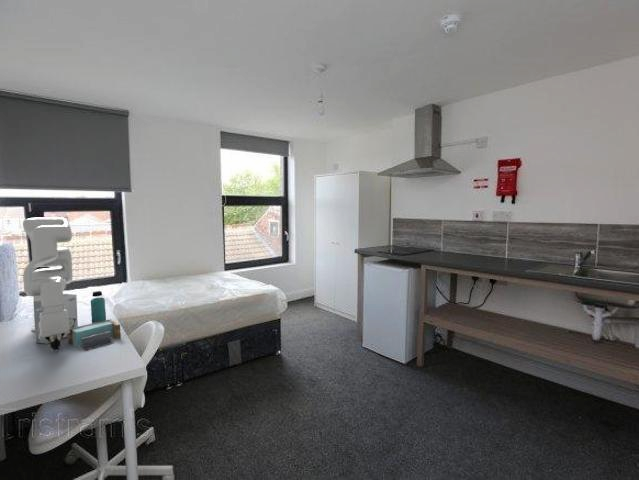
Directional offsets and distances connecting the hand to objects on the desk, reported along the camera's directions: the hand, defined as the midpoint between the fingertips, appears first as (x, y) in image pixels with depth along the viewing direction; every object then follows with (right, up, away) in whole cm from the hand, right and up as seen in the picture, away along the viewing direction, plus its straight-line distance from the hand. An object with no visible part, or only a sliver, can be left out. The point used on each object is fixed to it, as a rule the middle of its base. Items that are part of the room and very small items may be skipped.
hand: (55, 349), depth 142 cm
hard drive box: (-12, 0, +16) cm, 20 cm away
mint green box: (+8, 0, +13) cm, 15 cm away
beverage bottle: (0, +1, +28) cm, 28 cm away
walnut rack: (+9, 0, +12) cm, 15 cm away
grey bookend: (+14, -1, +7) cm, 16 cm away
